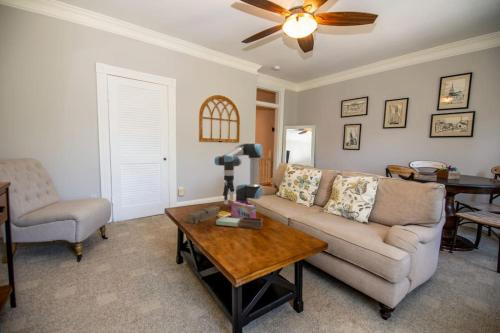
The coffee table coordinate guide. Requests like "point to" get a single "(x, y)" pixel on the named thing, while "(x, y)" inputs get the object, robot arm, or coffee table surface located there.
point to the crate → (252, 223)
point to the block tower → (203, 214)
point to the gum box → (243, 210)
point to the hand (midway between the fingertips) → (228, 201)
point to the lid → (228, 221)
